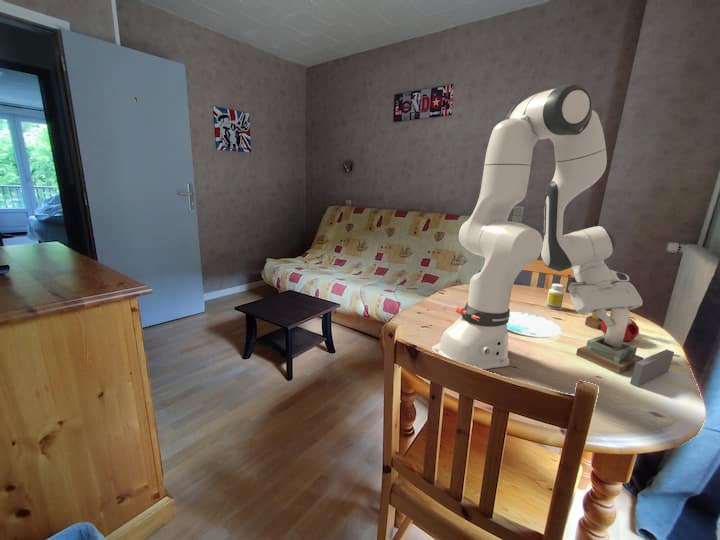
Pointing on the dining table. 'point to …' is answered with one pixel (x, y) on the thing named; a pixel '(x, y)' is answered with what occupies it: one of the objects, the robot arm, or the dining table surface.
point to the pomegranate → (630, 331)
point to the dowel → (617, 327)
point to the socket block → (610, 355)
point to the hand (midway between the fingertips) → (619, 325)
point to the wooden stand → (593, 321)
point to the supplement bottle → (555, 297)
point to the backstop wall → (651, 367)
